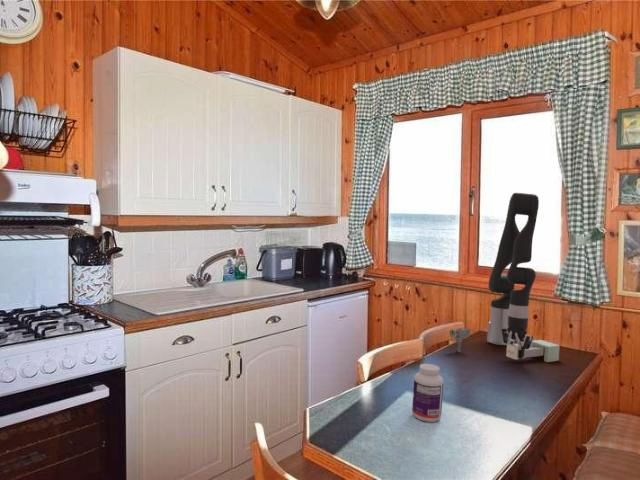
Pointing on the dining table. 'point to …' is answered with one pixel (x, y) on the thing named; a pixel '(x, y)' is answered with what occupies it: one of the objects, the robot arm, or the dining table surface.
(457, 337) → the mechanical component
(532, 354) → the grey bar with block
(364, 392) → the dining table surface
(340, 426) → the dining table surface
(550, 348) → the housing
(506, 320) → the robot arm
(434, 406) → the pill bottle
